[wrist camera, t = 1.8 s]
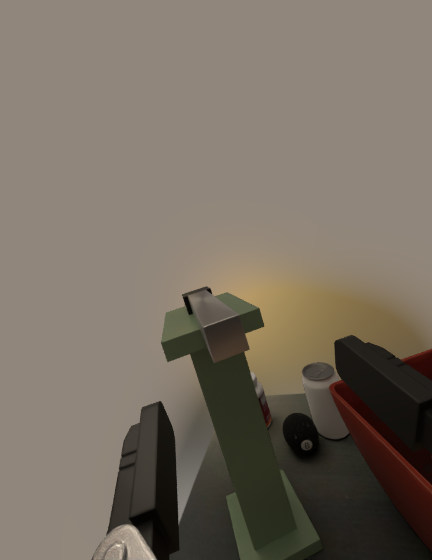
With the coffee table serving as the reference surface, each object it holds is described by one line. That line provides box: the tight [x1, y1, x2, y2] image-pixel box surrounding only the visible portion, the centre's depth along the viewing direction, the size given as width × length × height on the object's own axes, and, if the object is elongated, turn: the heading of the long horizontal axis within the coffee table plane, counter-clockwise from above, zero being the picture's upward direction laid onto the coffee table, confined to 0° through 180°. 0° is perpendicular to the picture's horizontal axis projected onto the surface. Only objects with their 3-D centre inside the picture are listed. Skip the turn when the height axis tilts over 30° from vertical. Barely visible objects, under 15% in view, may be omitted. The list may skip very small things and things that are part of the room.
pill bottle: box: [250, 372, 271, 428], centre depth 51 cm, size 6×6×11 cm
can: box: [302, 362, 349, 439], centre depth 44 cm, size 6×6×12 cm
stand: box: [161, 293, 323, 560], centre depth 31 cm, size 14×10×32 cm
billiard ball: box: [283, 413, 319, 454], centre depth 42 cm, size 6×6×6 cm
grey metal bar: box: [182, 287, 249, 363], centre depth 23 cm, size 18×4×2 cm, turn 11°
